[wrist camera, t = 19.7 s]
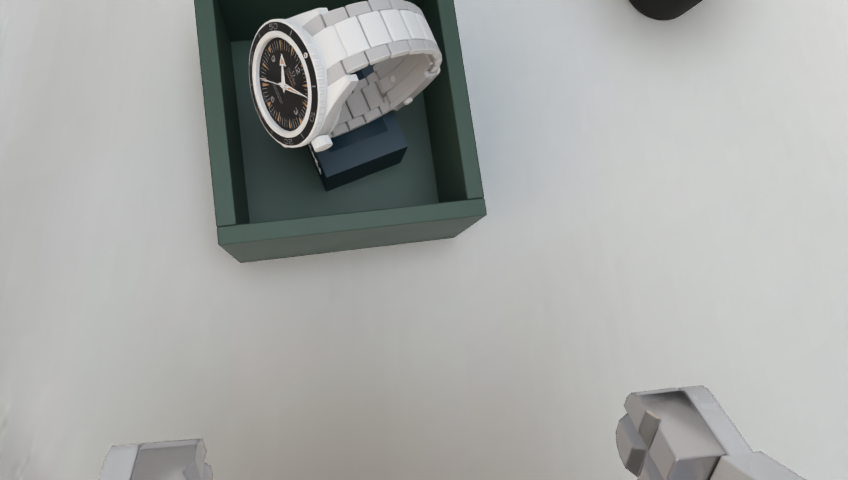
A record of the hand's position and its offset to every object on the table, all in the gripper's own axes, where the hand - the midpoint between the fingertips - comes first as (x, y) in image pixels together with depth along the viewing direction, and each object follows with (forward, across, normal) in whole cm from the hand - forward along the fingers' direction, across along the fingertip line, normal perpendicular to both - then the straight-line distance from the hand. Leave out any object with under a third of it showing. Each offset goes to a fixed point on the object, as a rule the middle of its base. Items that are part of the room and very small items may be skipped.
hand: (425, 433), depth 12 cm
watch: (+24, +1, +4) cm, 24 cm away
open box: (+24, +1, +5) cm, 24 cm away
